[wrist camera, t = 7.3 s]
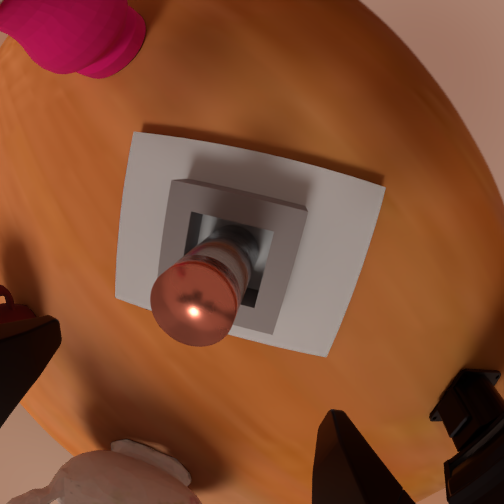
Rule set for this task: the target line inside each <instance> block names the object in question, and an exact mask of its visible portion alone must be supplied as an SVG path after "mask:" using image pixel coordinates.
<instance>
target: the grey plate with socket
mask: <svg viewBox="0 0 504 504" xmlns="http://www.w3.org/2000/svg"><path fill="white" fill-rule="evenodd" d="M385 189H386V187H383V186H380V185H377V184H374V183H371V182H368V181H365V180H362V179H358V178H355V177H352V176H349V175H345V174H342V173H339V172H335V171H332V170H328V169H325V168H321V167H318V166H314V165H310V164H307V163H303V162H299V161H295V160H291V159H287V158H283V157H279V156H274V155H270V154H266V153H261V152H257V151H252V150H247V149H242V148H238V147H232V146H227V145H222V144H217V143H211V142H205V141H199V140H193V139H187V138H180V137H173V136H166V135H158V134H150V133H141V132H134V133H133V138H132V143H131V148H130V153H129V159H128V165H127V171H126V177H125V183H124V190H123V198H122V206H121V214H120V224H119V234H118V247H117V262H116V285H115V298H117V299H120V300H123V301H126V302H128V303H131V304H134V305H137V306H139V307H142V308H145V309H148V310H151V311H152V309H151V304H150V295H151V290H152V287H153V285H154V283H155V281H156V280H157V278H158V277H159V276H160V275H161V274H162V273H164V272H165V271H166V270H167V269H168V268H170V267H171V266H172V265H173V264H174V263H176V262H177V261H178V260H179V259H181V258H182V257H183V256H184V255H186V254H187V253H188V252H189V251H191V250H192V249H193V248H194V247H195V246H197V245H198V244H199V243H201V242H202V241H203V240H204V239H206V238H207V237H208V236H209V235H211V234H212V233H213V232H214V231H216V230H217V229H218V228H220V227H223V226H226V225H238V226H241V227H243V228H245V229H247V230H248V231H249V232H251V234H252V235H253V236H254V237H255V239H256V241H257V244H258V248H259V255H258V259H257V262H256V265H255V267H254V270H253V273H252V275H251V278H250V281H249V283H248V286H247V289H246V291H245V294H244V296H243V299H242V302H241V304H240V307H239V310H238V312H237V315H236V317H235V320H234V323H233V325H232V328H231V330H230V331H229V333H228V334H229V335H233V336H236V337H240V338H244V339H248V340H252V341H256V342H260V343H264V344H268V345H272V346H276V347H280V348H285V349H289V350H293V351H298V352H303V353H307V354H312V355H317V356H322V357H327V355H328V353H329V350H330V348H331V346H332V344H333V341H334V339H335V337H336V334H337V332H338V329H339V327H340V324H341V322H342V320H343V317H344V315H345V312H346V309H347V307H348V304H349V302H350V299H351V296H352V294H353V291H354V288H355V286H356V283H357V280H358V277H359V274H360V271H361V269H362V266H363V263H364V260H365V257H366V254H367V251H368V248H369V244H370V241H371V238H372V235H373V232H374V228H375V225H376V221H377V218H378V215H379V211H380V207H381V204H382V200H383V196H384V193H385Z"/></svg>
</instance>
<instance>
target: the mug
mask: <svg viewBox="0 0 504 504" xmlns="http://www.w3.org/2000/svg"><path fill="white" fill-rule="evenodd" d="M0 296H4V297H5V300H6V303H3V304H0V324H3V323H8V322H14V321H20V320H25V319H31V318H36V316H35V315H34V313H33V312H32V311H31V310H30V309H29V308H28V307H27V306H25V305H21V304H14V301H13V297H12V295H11V293H10V292H9V290H8V289H7V288H6V287H4V286H3V285H0Z"/></svg>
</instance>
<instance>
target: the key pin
mask: <svg viewBox="0 0 504 504" xmlns="http://www.w3.org/2000/svg"><path fill="white" fill-rule="evenodd" d="M258 255H259V248H258V244H257V241H256V239H255V237H254V236H253V235H252V234H251V232H249V231H248V230H247V229H245V228H243V227H241V226H238V225H226V226H223V227H220V228H218V229H217V230H216V231H214V232H213V233H212V234H211V235H209V236H208V237H207V238H206V239H204V240H203V241H202V242H201V243H199V244H198V245H197V246H195V247H194V248H193V249H192V250H191V251H189V252H188V253H187V254H186V255H184V256H183V257H182V258H181V259H179V260H178V261H177V262H176V263H174V264H173V265H172V266H171V267H170V268H168V269H167V270H166V271H165V272H164V273H162V274H161V275H160V276H159V277H158V278H157V280H156V281H155V283H154V285H153V287H152V290H151V295H150V304H151V309H152V313H153V315H154V318H155V319H156V321H157V323H158V324H159V326H160V327H161V328H162V329H163V330H164V331H165V332H166V333H167V334H168V335H169V336H170V337H172V338H173V339H175V340H177V341H179V342H181V343H183V344H186V345H190V346H208V345H212V344H215V343H217V342H219V341H220V340H222V339H223V338H224V337H225V336H226V335H227V334H228V333H229V331H230V330H231V328H232V325H233V323H234V320H235V317H236V315H237V312H238V310H239V307H240V304H241V302H242V299H243V296H244V294H245V291H246V289H247V286H248V283H249V281H250V278H251V275H252V273H253V270H254V267H255V265H256V262H257V259H258Z"/></svg>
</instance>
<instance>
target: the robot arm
mask: <svg viewBox="0 0 504 504" xmlns="http://www.w3.org/2000/svg"><path fill="white" fill-rule="evenodd" d="M61 341H62V337H61V330H60V323H59V321H58V320H57V319H56V318H54V317H52V316H50V315H47V316H41V317H36V318H31V319H25V320H20V321H14V322H8V323H3V324H0V428H1V426H2V425H3V424H4V422H5V421H6V420H7V418H8V417H9V415H10V414H11V413H12V411H13V410H14V409H15V407H16V406H17V405H18V403H19V402H20V401H21V399H22V398H23V397H24V395H25V394H26V393H27V392H28V390H29V389H30V388H31V386H32V385H33V384H34V383H35V381H36V380H37V379H38V378H39V376H40V375H41V373H42V372H43V370H44V369H45V367H46V366H47V364H48V363H49V361H50V360H51V358H52V357H53V355H54V354H55V352H56V351H57V349H58V348H59V346H60V344H61ZM500 376H501V373H500V372H499V371H491V370H476V369H463V370H462V371H461V372H460V373H459V374H458V376H457V378H456V379H455V381H454V382H453V384H452V385H451V387H450V388H449V390H448V391H447V393H446V394H445V396H444V397H443V398H442V400H441V401H440V403H439V404H438V405H437V407H436V408H435V409H434V411H433V412H432V413H431V415H430V416H429V418H430V421H443V424H444V426H445V428H446V430H447V432H448V435H449V437H450V438H452V440H453V442H454V444H455V447H456V449H457V451H458V452H459V451H460V452H459V453H457V454H456V455H455V456H453V457H452V458H451V459H450V460H447V461H446V462H444V474H445V484H446V495H447V501H448V503H449V504H504V400H503V398H502V397H501V395H500V394H499V393H498V391H497V390H496V388H495V387H494V385H495V384H496V382H497V381H498V379H499V378H500ZM312 504H415V502H414V501H413V500H412V499H411V498H410V496H409V495H408V494H407V493H406V491H405V490H403V488H402V486H401V485H400V484H399V483H398V481H397V480H396V479H395V477H394V476H393V475H392V474H391V472H390V471H389V470H388V468H387V467H386V466H385V465H384V463H383V462H382V461H381V459H380V458H379V457H378V456H377V454H376V453H375V452H374V450H373V449H372V448H371V446H370V445H369V444H368V442H367V441H366V440H365V439H364V437H363V436H362V435H361V433H360V432H359V431H358V429H357V428H356V427H355V425H354V424H353V423H352V421H351V420H350V419H349V417H348V416H347V415H346V413H345V412H344V411H342V410H335V409H331V410H329V411H328V413H327V415H326V416H325V418H324V419H323V421H322V423H321V424H320V426H319V429H318V434H317V442H316V450H315V458H314V465H313V476H312Z"/></svg>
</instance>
